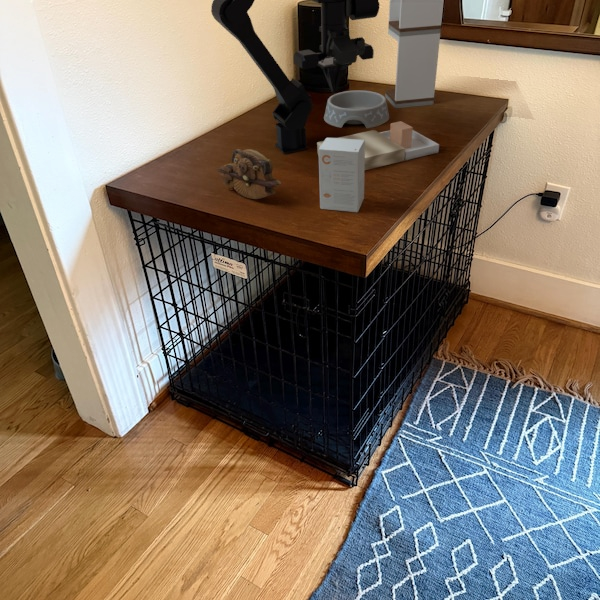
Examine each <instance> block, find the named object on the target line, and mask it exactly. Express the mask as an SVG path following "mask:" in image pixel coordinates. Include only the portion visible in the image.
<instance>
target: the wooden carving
mask: <svg viewBox="0 0 600 600" xmlns="http://www.w3.org/2000/svg"><path fill="white" fill-rule="evenodd" d="M230 160H231V162H230V163H227V164H224V165H223V166H220V167H218V168H217V170H218V172H219V175H220V178H221V179H222V182H223V185H224V186H225V187H227V188H233V189H234V190H235V191H236V192H237V194H239V195H241V196H242V197H244V198H247V199H252V200H260V199H263V198H266V197H269V196H273V195H275V194H276V193H277V191H276V190H275V188H274V187H277V186H280V185H282V183H281V181H280V179H277V178H274V176H273V171H274V164H273V162H272V160H271V159H269V158H267V157H266V156H265V155H264V154H262V153H260V152H259V151H257V150H255V149H252V148H251V149H250V148H248V149H247V148H246V149H243V150H242V149H240V148H237V149H234V150H233V151H232V154H231V158H230Z"/></svg>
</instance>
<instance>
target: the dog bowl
mask: <svg viewBox="0 0 600 600" xmlns="http://www.w3.org/2000/svg"><path fill="white" fill-rule="evenodd" d="M323 119H324V120H323V121H325V123H327V124H328V125H329V126H333V127H336V128H340V129H341V128H343V126H344V125H345V124H347V125H364V126H365V128H366V129H371V128H374V127H379V126H382V125H384V124H385V123H387V122H389V120H390V113H389V109H388V103H387V99H386V97H385V95H383V94H381V93H378V92H376V91H370V90H362V89H361V90H359V89H358V90H356V89H355V90H354V89H353V90H346V91H342V92H338V93H337V92H336V93H333V95H331V96H329V98H327V102H326V107H325V112H324V116H323Z"/></svg>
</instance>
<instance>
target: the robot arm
mask: <svg viewBox="0 0 600 600" xmlns="http://www.w3.org/2000/svg"><path fill="white" fill-rule="evenodd" d="M311 1H312V2H314V3H317V4H320V6H321V7H320V11H321V13H320V14H321V15H320V16H321V17H320V18H321V19H320V20H321V24H320V25H321V26H319V27H318V28H319V29H318V31H319V32H321V44H320V45H319V51H321V52H314V51H313V50H311V49H303V50H297V51H295V52H294V54H293V65H296V66H297V67H299V68H300V69H302V70H306V69H314V68H317V66H318V67H320V69H321V70H322V72H323V75H324V76H325V79H326V82H327V84H328V86H329V89H330V91H331V93H333V94H335V93H337V92H338V88H339V85H340V82H341V79H342V78H343V77H342V76H343V74H344V72H345V70H346V69H347V68H348V67H349V66H352V64H355V63H356V62H357V58H358V57H359V58H360V59H361V60H362V61H366V60H371V59H373V58H374V53H375V52H374V51H375V49H374V47H373V46H372V45H371V44H369V43H366V40H365V39H364V38H363V37H362V36H360V37H355V38H351V37H350V28H348V27H347V17H348V18H349V19H350V20H351V21H355V20H356V21H357V20H364V19H365V20H366V19H372V18H376V17H377V16H378V14H379V11H380V2H379V0H311ZM254 3H255V0H212V3H211V15H212V17H213V19H214V20H215V21H216V22H217V23H219V25H221V26H222V28H224V29H225V30H226V31H227V32H228V33H229V34H230V35H231V36H233V37H234V38H235V39H236V40H237V41H238V42H239V44H240V45H241V46H242V47H243V49H244V50H245V51H246V53H247V54H248V55H249V57H250V58H251V60H252V61H253V62H254V63H255V65H256V67H258V69H259V70H260V72H262V74H263V76H264V77H265V78H266V80H267V81H268V82H269V83H270V85H271V86H272V88H273V91H274V93H275V95H276V99H277V101H278V104H277V105H276V107H275V108H274V110H273V111H272V113H271V114H272V117H273V118H274V120H275V121H277V123H276V124H275V129H276V130H275V132H276V134H275V135H276V143H274V147H276V149H278V150H279V151H280V152H281V153H282V154H285V155H286V154H291V153H296V152H301V151H304V150H308V146H307V145H306V144H307V128H306V124H307V122H308V119H309V118H308V117H309V116H310V114H311V112H312V109H313V102H312V98H313V96H311V95H310V94H308V92H307V90H306V88H305V86H304V84H303V83H301V82H299V81H298V80H297V79H296V78H293V77H292V78H291V79H289V78H288V76H287V75H286V73H285V72H284V71H283V69H282V68H281V66H280V65H279V64H278V61H276V59H275V58H274V57H273V55H272V54H271V53H270V51H269V50H268V48H267V47H266V45H265V44H264V43H263V41H262V40H261V38H260V37H259V36H258V34H257V32H255V29H254V25H253V22H252V19H251V16H250V15H249V13H248V11H250V9H251V8H252V6H253V4H254Z"/></svg>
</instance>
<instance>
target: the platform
mask: <svg viewBox="0 0 600 600" xmlns="http://www.w3.org/2000/svg"><path fill="white" fill-rule="evenodd" d="M338 138H342V139H358V140H365V168H364V171H367V170H371V169H376V168H380V167H383V166H387V165H391V164H395V163H400V162H405V160H404V157H405V148H403V147H402V146H400V145H398V144H397V143H395V142H393V141H392V140H390V139H389V138H387V137H385V136H384V135H382V134H380V133H379V132H378V131H377V130H376V129H372V130H367V131H362V132H358V133H355V134H354V133H353V134H350V135H345V136H339V137H338ZM324 141H325V140H321V141H318V142H316V145H317V146H316V148H317V150H316V151H317V155H318V156H319V152H318V149H319V147H320V146H321V145H322V143H323V142H324Z"/></svg>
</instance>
